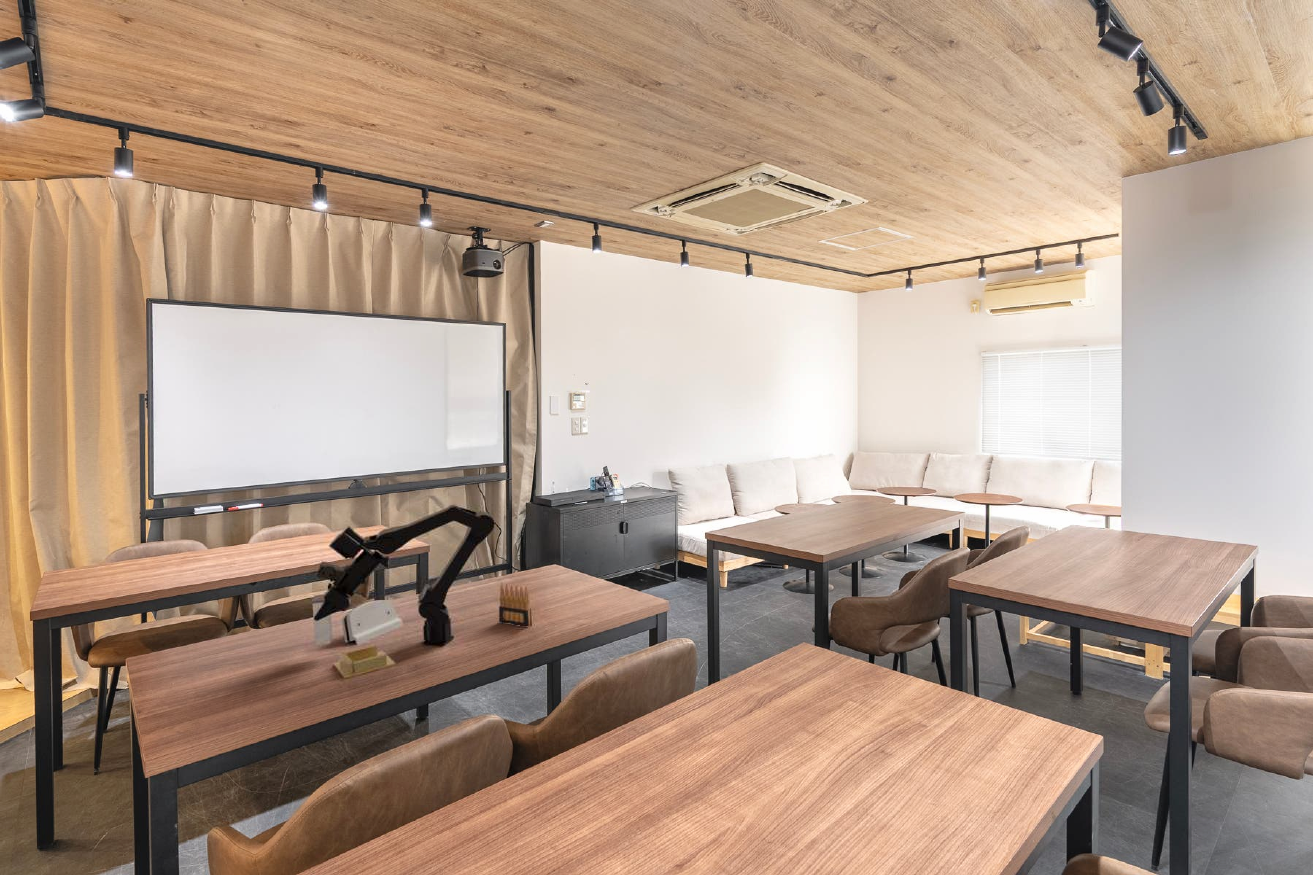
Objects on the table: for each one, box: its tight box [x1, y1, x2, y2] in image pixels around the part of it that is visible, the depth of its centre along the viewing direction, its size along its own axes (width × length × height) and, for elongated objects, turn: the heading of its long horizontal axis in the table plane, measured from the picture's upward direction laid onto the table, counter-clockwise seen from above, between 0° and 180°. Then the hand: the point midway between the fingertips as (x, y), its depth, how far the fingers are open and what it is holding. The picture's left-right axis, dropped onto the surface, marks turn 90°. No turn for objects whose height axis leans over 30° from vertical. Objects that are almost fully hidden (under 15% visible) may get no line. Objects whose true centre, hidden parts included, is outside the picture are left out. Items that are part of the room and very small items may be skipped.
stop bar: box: [311, 593, 333, 646], centre depth 168 cm, size 4×5×12 cm
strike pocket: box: [333, 644, 396, 679], centre depth 164 cm, size 12×11×3 cm
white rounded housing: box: [341, 599, 404, 645], centre depth 187 cm, size 17×5×10 cm, turn 154°
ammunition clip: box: [498, 583, 533, 627], centre depth 191 cm, size 11×2×12 cm, turn 65°
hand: (316, 616), depth 168 cm, fingers closed on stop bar, 5 cm apart
